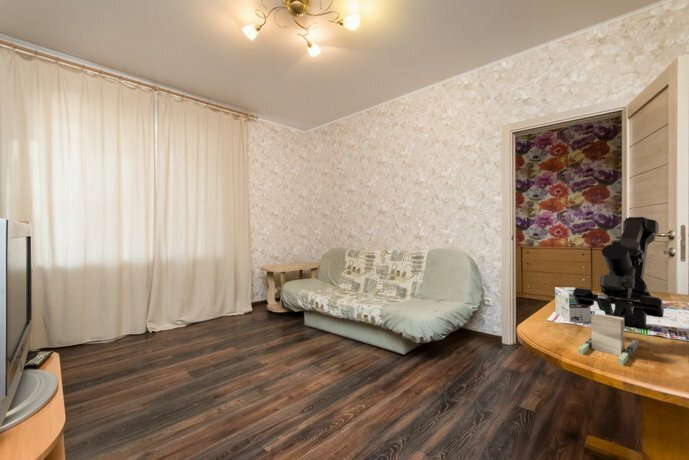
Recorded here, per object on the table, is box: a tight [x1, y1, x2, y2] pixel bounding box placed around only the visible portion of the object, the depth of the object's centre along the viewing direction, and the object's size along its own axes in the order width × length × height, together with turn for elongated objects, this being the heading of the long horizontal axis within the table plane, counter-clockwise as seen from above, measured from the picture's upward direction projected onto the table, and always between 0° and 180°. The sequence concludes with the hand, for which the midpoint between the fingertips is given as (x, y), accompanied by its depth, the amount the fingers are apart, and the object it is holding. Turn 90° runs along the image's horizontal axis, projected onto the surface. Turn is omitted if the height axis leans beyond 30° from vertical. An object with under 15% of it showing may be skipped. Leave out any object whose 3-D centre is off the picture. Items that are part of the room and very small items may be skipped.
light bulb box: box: [554, 286, 592, 323], centre depth 109 cm, size 11×7×11 cm, turn 168°
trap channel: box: [577, 336, 639, 366], centre depth 83 cm, size 17×9×2 cm, turn 127°
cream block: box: [590, 312, 626, 357], centre depth 82 cm, size 4×6×9 cm, turn 37°
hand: (610, 327), depth 84 cm, fingers closed, pressing on cream block
